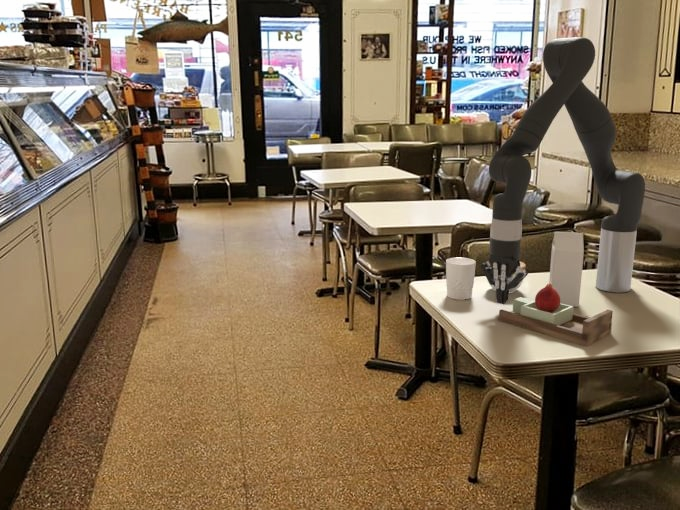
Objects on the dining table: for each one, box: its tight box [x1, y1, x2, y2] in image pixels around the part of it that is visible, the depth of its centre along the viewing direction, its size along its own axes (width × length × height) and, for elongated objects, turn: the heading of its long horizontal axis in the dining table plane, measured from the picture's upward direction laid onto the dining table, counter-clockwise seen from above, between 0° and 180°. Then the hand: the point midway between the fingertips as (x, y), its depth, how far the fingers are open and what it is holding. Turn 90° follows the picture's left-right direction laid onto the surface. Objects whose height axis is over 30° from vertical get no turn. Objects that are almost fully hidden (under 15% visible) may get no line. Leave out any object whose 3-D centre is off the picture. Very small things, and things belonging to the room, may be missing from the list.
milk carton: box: [548, 231, 585, 308], centre depth 178 cm, size 7×7×19 cm
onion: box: [534, 282, 560, 313], centre depth 162 cm, size 6×6×8 cm
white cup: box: [445, 256, 476, 301], centre depth 184 cm, size 8×8×10 cm
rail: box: [498, 309, 614, 347], centre depth 161 cm, size 11×23×6 cm, turn 43°
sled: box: [512, 296, 575, 325], centre depth 164 cm, size 9×13×3 cm
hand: (501, 302), depth 172 cm, fingers closed
